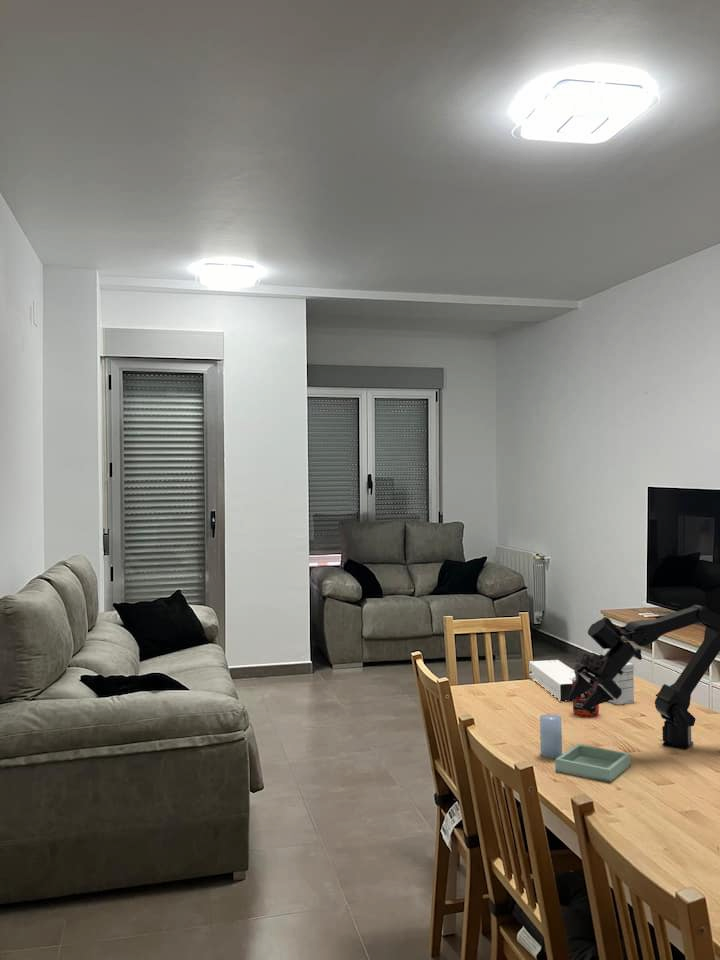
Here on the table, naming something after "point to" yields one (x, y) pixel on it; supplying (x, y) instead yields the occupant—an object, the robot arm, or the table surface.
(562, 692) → the laminator
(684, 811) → the table surface
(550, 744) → the tall pale blue cylinder
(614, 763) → the tray
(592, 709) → the canned food
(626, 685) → the supplement box
